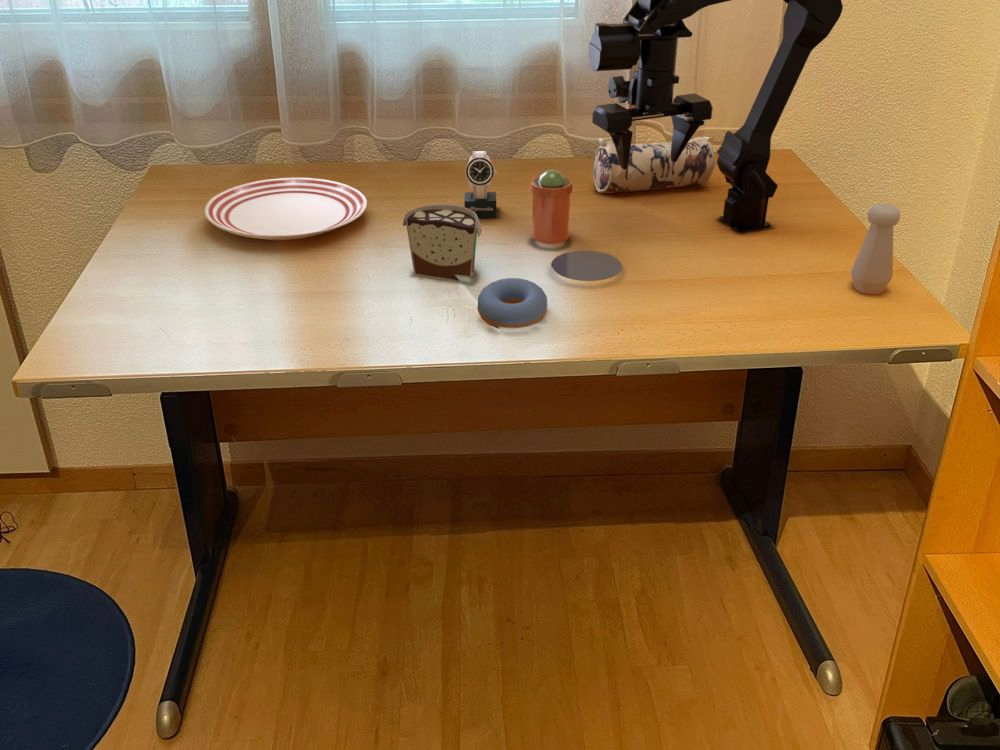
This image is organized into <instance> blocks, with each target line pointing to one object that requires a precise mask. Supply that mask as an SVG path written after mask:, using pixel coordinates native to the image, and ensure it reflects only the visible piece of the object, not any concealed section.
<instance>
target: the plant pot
mask: <svg viewBox="0 0 1000 750" xmlns="http://www.w3.org/2000/svg"><path fill="white" fill-rule="evenodd" d="M530 192H531V193H532V222H531V223H532V225H531V226H532V228H531V229H532V230H531V231H532V232H531V234H532V238H533V240H534V241H537V242H539V243H543V244H559V243H563V242H565V241H567V240H568V239H569V238H570V211H571V210H570V209H571V195H572V193H573V180H572V179H571V178H569V177H567V176H564V175H563V173H562V172H560V171H559V170H557V169H547V170H545V171H544V172H542V173H541V174H540V175H539V176H536V177H533V178H532V179H531V181H530Z"/></svg>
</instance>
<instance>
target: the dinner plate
mask: <svg viewBox="0 0 1000 750" xmlns="http://www.w3.org/2000/svg"><path fill="white" fill-rule="evenodd" d="M367 207H368V201H367V197H366V196H365V195H364V194H363V193H362V192H361V191H359V190H358V189H356V188H355V187H353V186H350V185H348V184H345V183H342V182H338V181H335V180H334V181H333V180H330V179H323V178H316V177H315V178H314V177H280V178H270V179H261V180H256V181H252V182H247V183H243V184H240V185H236V186H233V187H231V188H228V189H226V190H223V191H221V192H219V193H218V194H216V195H214V196H212V198H211V199H210V200H208V201H207V203H206V204H205V207H204V216H205V217H206V220H208V221H209V223H211V224H212V225H213V226H214V227H216V228H218V229H220V230H223V232H224V231H225V232H227V233H230V234H233V235H236V236H240V237H245V238H249V239H250V238H252V239H257V240H268V241H292V240H293V241H294V240H300V239H301V240H303V239H308V238H312V237H315V236H319V235H322V234H326V233H329V232H331V231H335V230H337V229H339V228H341V227H343V226H345V225H348V224H350V223H352V222H354V221H356V220H357V219H358V218H360V217H361V216H362V215H363V214H364V213H365V212H366V209H367Z"/></svg>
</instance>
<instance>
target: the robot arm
mask: <svg viewBox="0 0 1000 750" xmlns="http://www.w3.org/2000/svg"><path fill="white" fill-rule="evenodd" d="M730 1H732V0H635V2H634V4H633V5H632V6H631V8H630V9H629V10H628V12H627V13H626V15H625V16H624V18H623V19H622V23H621V22H619V23H605V22H597V23H595V24H594V31H593V33H592V34H591V37H590V42H589V43H588V59H589V60H588V61H589V65H590V68H591V70H592V71H593V72H605V71H606V72H607V71H623V70H625V71H626V70H632V68H633V67H634V66H637V70H632V71H633V72H632V74H631V79H630V80H625V78H624V76H623V75H619V76H611V77H609V78H608V86H607V90H608V92H607V93H608V97H609V98H610V99H613V98H618V103H619V104H618V103H615V102H614V103H608V104H600V105H597V106H596V107H595V108H594V110H593V111H592V124H594V125H595V126H597V127H598V128H600V129H602V130H603V131H605V132H606V133H608V135H610V137H611V139H612V140H613V142H614V145H615V148H616V152H617V155H618V158H619V162H620V165H621V168H622V169H624V170H626V169H627V165H628V161H629V154H630V147H631V144H632V142H633V141H632V139H633V133H634V132H633V131H631V130H630V128H631V126H633V122H636V121H637V122H638V121H644V120H645V121H646V120H651V119H659V118H665V117H666V118H667V117H670V118H671V121H672V127H673V128H672V138H671V142H672V146H671V161H673V162H676V161H677V160H678V158H679V156H680V155H681V153H682V151H683V150H684V148H685V146H686V145H687V143H688V142H689V140H690V139H692V137H693V136H694V134H695V133H696V132H697V130H698V129H699V128H700V127H701V126H704V125H705V121H707V120H711V119H712V118H713V110H714V107H713V105H712V102H711V101H710V100H709V99H708V98H706V97H704V96H702V95H699V94H697V93H695V92H694V93H687V94H679V95H676V96H675V97H674V90H675V89H674V87H675V84H679V83H680V76H679V75H677V74H676V67H677V56H678V44H679V39H682V38H692V36H693V32H692V31H691V30H690V29H689V28H688V27H687V26H686V24H685V22H684V20H685V19H688V18H690V17H692V16H694V15H695V14H696V13H697V12H699V11H700V10H703V9H704V8H706V7H709V6H713V5H718V4H721V3H726V2H730ZM782 1H783V2H784V3H785V4H787V5H786V9H785V11H784V15H783V23H782V40H781V42H780V44H779V47H778V48H777V51H776V53H775V56H774V57H773V60H772V62H771V64H770V66H769V68H768V71H767V73H766V75H765V78H764V80H763V82H762V84H761V85H760V88H759V91H758V93H757V95H756V97H755V100H754V101H753V103H752V106H751V108H750V110H749V112H748V114H747V117H746V119H745V121H744V123H743V125H742V126H741V127H740V128H739V129H737V130H736V131H735V132H734V133H733V132H732V131H731V130H727V131H726V133H725V134H724V137H723V140H722V144H721V145H720V147H719V148H718V149H717V151H715V153H716V154H717V155H718V157H717V160H716V164H717V166H718V170H719V171H720V173H721V174H722V175H723V176H724V178H725V182H726V183H728V184H729V185H731V186H732V187H730V188H728V189H727V197H726V198H725V199H724V206H723V212H722V213H723V214H722V215H721V216H719V217H718V220H719V221H720V222H721V223H723V224H724V225H727V226H728V227H729V228H731V229H732V230H734V231H736V232H737V233H746V232H747V233H748V232H751V231H758V230H763V229H768V228H771V225H772V224H771V223H770V222H768V221H767V220H766V219H767V213H768V206H769V198H773V197H774V195H775V194H776V191H777V190H778V186H779V185H778V184H777V183H776V181H774V179H773V178H772V177H771V176H770V175H769V174H768V172H767V170H768V166H769V162H770V159H771V147H772V136H773V134H774V131H775V129H776V128H777V125H778V123H779V121H780V119H781V117H782V114H783V113H784V110H785V109H786V106H787V104H788V102H789V101H790V100H789V99H790V97H791V95H792V93H793V92H794V89H795V87H796V85H797V82H798V80H799V78H800V76H801V74H802V72H803V70H804V67H805V65H806V63H807V62H808V59H809V57H810V55H811V53H812V51H813V50H814V49H815V48H816V47H817V46H819V45H820V44H821V43H822V42H823V41H824V40H825V39H826V38H827V37H828V36H829V35H830V33H831V31H833V28H834V27H835V26H836V24H837V23H838V21H839V19H840V18H841V15H842V12H843V9H844V4H843V2H842V0H782ZM645 18H646V19H645ZM626 102H627V104H628V105H630V106H634V107H633V108H626V107H624V106H622V105H620V104H624V103H626Z"/></svg>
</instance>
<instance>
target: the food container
mask: <svg viewBox="0 0 1000 750" xmlns="http://www.w3.org/2000/svg"><path fill="white" fill-rule="evenodd" d="M405 226H406V232H407V237H408V244H409V250H410V257H411V262H412V263H411V264H412V268H413V275H414V276H416V277H423V278H430V279H436V280H444V281H450V282H457V283H461V281H460V279H459V278H458V276H463V277H469V278H472V277H473V276H474V273H475V261H476V249H477V239H478V238H479V237H480V236H481V235H482V226H481V221H480V218H478V217H477V215H476V213H475V212H473V211H472V210H470V209H468V208H465V206H462V205H455V204H445V203H444V204H441V203H440V204H428V205H423V206H419V207H416V208H413V209H410V210H409V211H407V212H406V213H405V214H404V217H403V221H402V227H405ZM477 237H478V238H477Z"/></svg>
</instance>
